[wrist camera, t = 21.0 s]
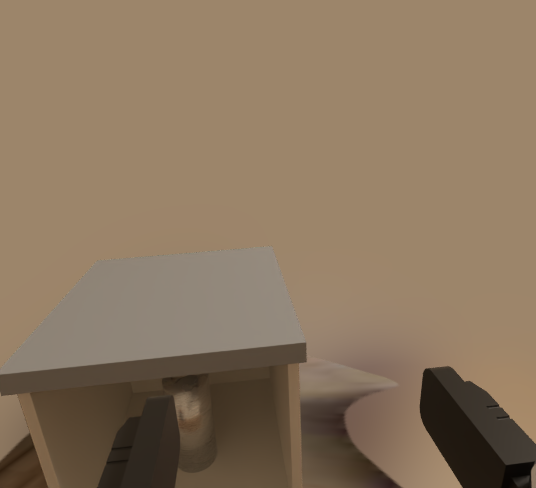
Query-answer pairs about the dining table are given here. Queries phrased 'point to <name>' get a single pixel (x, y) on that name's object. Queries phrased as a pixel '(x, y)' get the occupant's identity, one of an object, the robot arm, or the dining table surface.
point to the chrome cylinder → (193, 420)
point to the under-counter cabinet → (167, 365)
